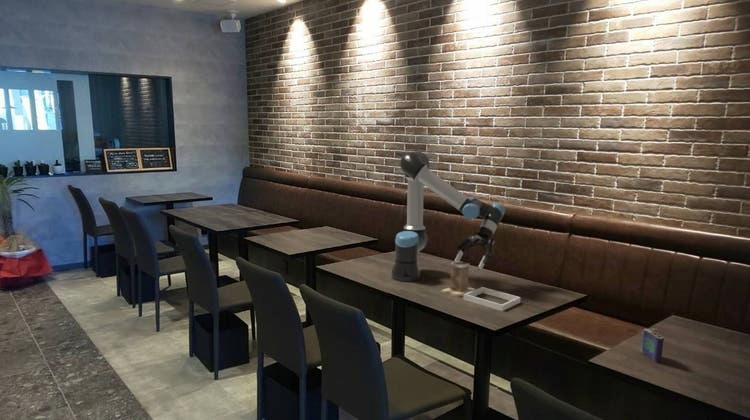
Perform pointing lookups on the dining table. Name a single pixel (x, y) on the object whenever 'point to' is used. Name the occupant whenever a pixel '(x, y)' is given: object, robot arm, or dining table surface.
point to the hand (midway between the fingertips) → (467, 265)
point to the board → (455, 293)
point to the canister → (459, 276)
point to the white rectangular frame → (501, 307)
